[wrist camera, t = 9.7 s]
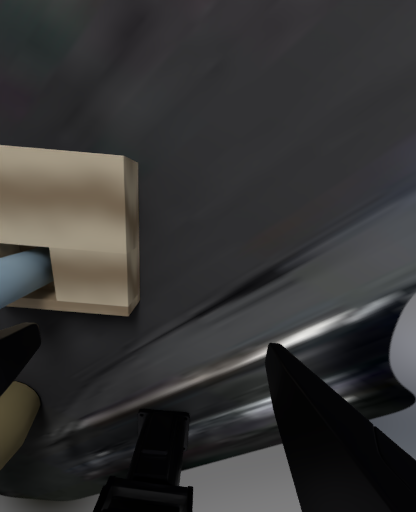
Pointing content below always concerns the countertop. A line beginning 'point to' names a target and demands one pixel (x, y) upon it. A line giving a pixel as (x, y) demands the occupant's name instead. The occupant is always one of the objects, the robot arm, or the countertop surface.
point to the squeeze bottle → (16, 418)
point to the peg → (24, 274)
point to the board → (74, 226)
